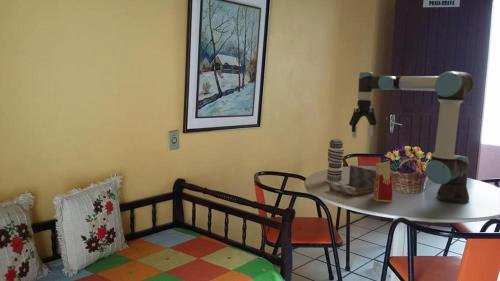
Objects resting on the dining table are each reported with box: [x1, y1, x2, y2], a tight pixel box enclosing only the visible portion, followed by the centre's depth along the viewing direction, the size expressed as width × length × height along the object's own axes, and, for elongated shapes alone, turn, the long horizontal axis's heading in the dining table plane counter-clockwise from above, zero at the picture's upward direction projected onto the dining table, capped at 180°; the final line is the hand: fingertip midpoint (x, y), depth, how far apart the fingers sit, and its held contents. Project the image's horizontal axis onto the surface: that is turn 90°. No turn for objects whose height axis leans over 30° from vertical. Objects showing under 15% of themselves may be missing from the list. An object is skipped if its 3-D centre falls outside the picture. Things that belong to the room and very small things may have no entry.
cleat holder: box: [328, 164, 377, 198], centre depth 233 cm, size 16×19×12 cm
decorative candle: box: [326, 138, 345, 184], centre depth 253 cm, size 9×9×25 cm
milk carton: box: [372, 160, 394, 203], centre depth 218 cm, size 9×9×20 cm
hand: (362, 137), depth 247 cm, fingers open, 13 cm apart
